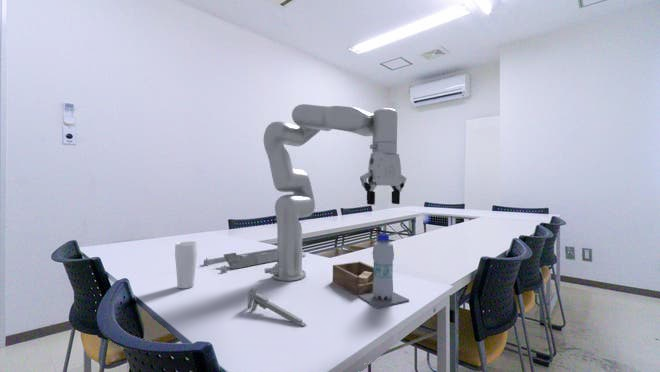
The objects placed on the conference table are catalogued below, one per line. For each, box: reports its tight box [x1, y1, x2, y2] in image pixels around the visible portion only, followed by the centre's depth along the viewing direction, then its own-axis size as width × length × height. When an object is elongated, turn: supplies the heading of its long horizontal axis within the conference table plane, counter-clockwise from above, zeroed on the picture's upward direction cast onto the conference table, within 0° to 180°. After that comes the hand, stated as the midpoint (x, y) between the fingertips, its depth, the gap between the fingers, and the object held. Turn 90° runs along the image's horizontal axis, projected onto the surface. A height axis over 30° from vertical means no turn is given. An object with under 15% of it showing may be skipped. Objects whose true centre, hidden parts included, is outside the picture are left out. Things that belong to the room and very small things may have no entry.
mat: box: [357, 291, 410, 310], centre depth 93 cm, size 12×10×1 cm
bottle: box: [371, 233, 395, 300], centre depth 93 cm, size 7×7×20 cm
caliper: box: [247, 286, 307, 327], centre depth 80 cm, size 20×1×6 cm, turn 58°
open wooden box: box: [332, 260, 374, 297], centre depth 105 cm, size 12×16×6 cm
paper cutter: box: [203, 248, 307, 274], centre depth 139 cm, size 18×45×6 cm, turn 133°
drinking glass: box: [174, 240, 198, 290], centre depth 102 cm, size 7×7×15 cm
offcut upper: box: [359, 271, 373, 285], centre depth 103 cm, size 8×3×2 cm, turn 155°
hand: (383, 204), depth 93 cm, fingers open, 9 cm apart
